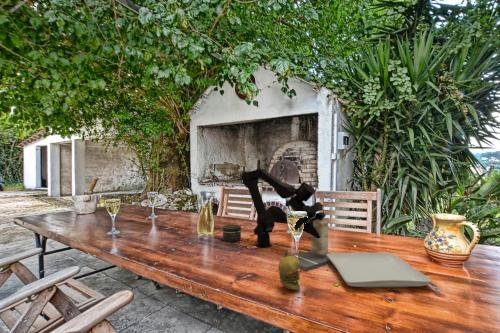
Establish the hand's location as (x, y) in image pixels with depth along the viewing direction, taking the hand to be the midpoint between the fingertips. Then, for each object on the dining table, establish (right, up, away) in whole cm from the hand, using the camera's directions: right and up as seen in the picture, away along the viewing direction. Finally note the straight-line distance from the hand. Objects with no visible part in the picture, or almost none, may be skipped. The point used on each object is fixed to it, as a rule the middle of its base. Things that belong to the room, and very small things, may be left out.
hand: (322, 236), depth 116 cm
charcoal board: (-5, -10, 0) cm, 11 cm away
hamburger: (-18, -11, -26) cm, 33 cm away
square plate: (+14, -10, -16) cm, 23 cm away
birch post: (-1, -7, +1) cm, 7 cm away
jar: (-41, -11, +33) cm, 54 cm away
